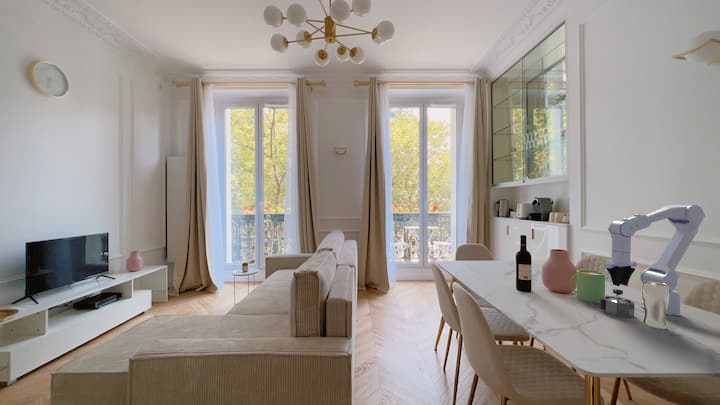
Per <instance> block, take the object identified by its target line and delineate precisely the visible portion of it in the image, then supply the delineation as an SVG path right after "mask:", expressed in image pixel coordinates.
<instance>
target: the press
mask: <svg viewBox="0 0 720 405" xmlns="http://www.w3.org/2000/svg"><path fill="white" fill-rule="evenodd" d="M608 298H615V299H616V296H614V295H613V296H612V295H605V297H602V299H600V303H599V308H600V309H601V311H602V312H604V313H605V314H607V315H610V316H614V317H617V318H628V319H630V318H632V317H635V302H634V301H633V300H631V299H629V298H625V297H620V299H621V300H625V301H627V302H629V303H628V304H626V303H617V302H613V301H609V300H607V299H608Z"/></svg>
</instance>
